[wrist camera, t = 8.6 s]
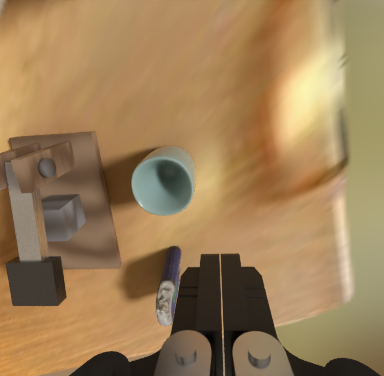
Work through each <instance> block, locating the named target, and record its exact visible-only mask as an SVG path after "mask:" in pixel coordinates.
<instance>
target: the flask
mask: <svg viewBox="0 0 384 376" xmlns="http://www.w3.org/2000/svg"><path fill="white" fill-rule="evenodd" d="M181 252H182V251H181V249H180V248H179V246H178V247H177V246H171V247H170V248H169V250H168V251H167V256H166V260H165V265H164V269H163V273H162V277H161V281H160V284H159V288H158V292H157V298H156V309H157V310H156V311H155V313H156V315H157V317H158V321H159V323H160V324H161V325H163V326H169V325H172V322H173V319H174V311H175V304H176V298H177V293H178V288H179V281H180V279H179V273H180V267H179V264H180V258H181Z"/></svg>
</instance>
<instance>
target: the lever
mask: <svg viewBox="0 0 384 376" xmlns="http://www.w3.org/2000/svg"><path fill="white" fill-rule="evenodd" d="M4 163H5V170H6V176H7V182H8V189H9V195H10V201H11V208H12V214H13V220H14V227H15V233H16V239H17V246H18V252H19V257H16V258H14V259H13V260H11V261H9V262H7V263H6V268H7V274H8V280H9V286H10V292H11V298H12V304H13V306H58V305H59V304H60V303H61V302H62V301H63V300H64V299H65V298H66V290H65V283H64V275H63V268H62V260H61V256H49V252H48V245H47V238H46V231H45V224H44V216H43V209H42V202H41V195H40V188H39V189H37V190H35V191H34V192H32V193H21V191H20V188H19V184H18V181H17V178H16V175H15V172H14V169H13V166H12V163H11V162H4Z"/></svg>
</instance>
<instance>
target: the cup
mask: <svg viewBox="0 0 384 376" xmlns="http://www.w3.org/2000/svg"><path fill="white" fill-rule="evenodd" d="M196 176H197V173H196V166H195V163H194V160H193V158H192V156H191V155H190V154H189V152H188V151H186V150H185V149H183V148H182V147H178V146H171V145H170V146H164V147H160V148H158V149H156V150H154V151H152V152H151V153H150V154H148V155H147V156H146V157H145V158H144V159H143V160H142V161H141V162H140V163H139V164H138V165H137V167H136V168H135V169H134V172H133V174H132V179H131V187H132V192H133V195H134V197H135V199H136V201H137V203H138V204H139V205H140V206H141V207H142V208H143V209H144V210H145V211H147V212H149V213H151V214H155V215H161V216H166V215H172V214H176V213H178V212H181V211H182V210H184V209H185V208H186V207H187V206H188V205H189V204H190V202H191V200H192V198H193V195H194V191H195V186H196Z"/></svg>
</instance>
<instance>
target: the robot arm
mask: <svg viewBox="0 0 384 376" xmlns="http://www.w3.org/2000/svg"><path fill="white" fill-rule="evenodd" d="M221 273H222V300H223V326H224V352H225V376H380V375H379V374H378V373H376V372H375V371H374V370H372V369H371V368H369V367H368V366H366V365H364V364H363V363H360V362H358V361H356V360H352V359H347V358H337V359H333V360H331V361H330V362H329V363H327V364H326V366H325V367H322V366H319V365H316V364H313V363H310V362H307V361H304V360H302V359H299V358H297V357H296V356H294V355H292V354H291V353H289V352H288V351H287V350H286V349H285V348H284V347H283V346H282V344H281V343H280V342H279V340H278V338H277V335H276V331H275V327H274V323H273V319H272V315H271V311H270V307H269V303H268V299H267V295H266V291H265V289H264V283H263V279H262V276H261V275H260V273H259V272H258V271H257V270H256V269H255V268H254V267H241V262H240V255H239V254H221ZM69 376H223V352H222V319H221V288H220V262H219V254H201V260H200V267H188V268H187V269H186V270H185V272H184V273H183V274H182V276H181V279H180V285H179V291H178V298H177V302H176V308H175V314H174V319H173V325H172V331H171V335H170V337H169V338H168V339H167V340H166V341H165V342H164V344H163V346H162V348H161V349H160V350H159V351H157V352H156V353H154V354H152V355H150V356H148V357H145V358H141V359H138V360H135V361H131V362H129V361H128V359H127V358H126V357H125V356H124V355H123V354H121V353H119V352H115V351H109V352H103V353H101V354H98V355H96V356H94V357H93V358H91V359H90V360H88V361H87V362H86V363H85V364H83V365H82V366H81V367H80V368H78V369H77V370H76V371H75V372H73V373H72V374H71V375H69Z"/></svg>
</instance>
